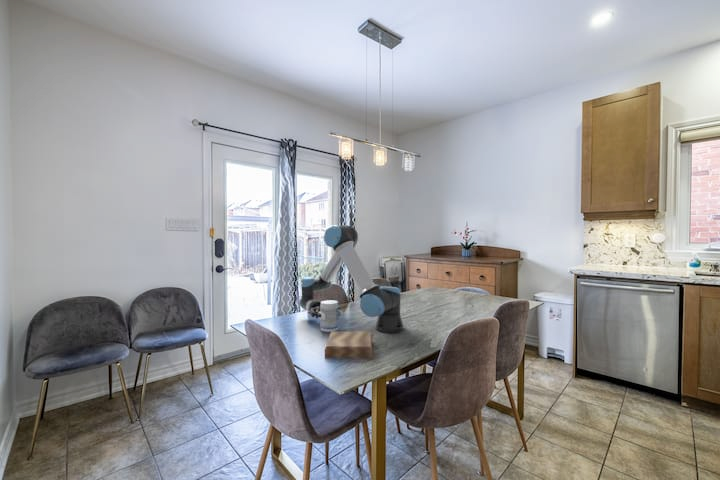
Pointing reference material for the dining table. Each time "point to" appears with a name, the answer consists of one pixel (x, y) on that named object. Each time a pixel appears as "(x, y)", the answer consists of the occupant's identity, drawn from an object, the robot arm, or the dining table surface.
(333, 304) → the supplement tub
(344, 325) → the dining table surface
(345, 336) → the wooden square block
